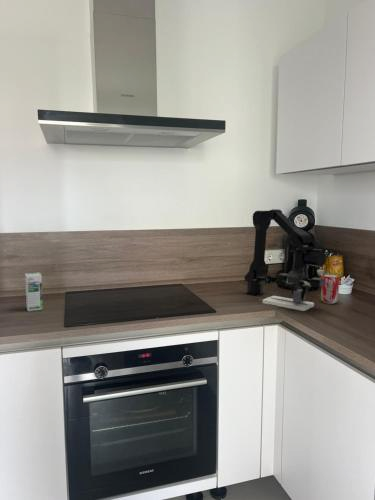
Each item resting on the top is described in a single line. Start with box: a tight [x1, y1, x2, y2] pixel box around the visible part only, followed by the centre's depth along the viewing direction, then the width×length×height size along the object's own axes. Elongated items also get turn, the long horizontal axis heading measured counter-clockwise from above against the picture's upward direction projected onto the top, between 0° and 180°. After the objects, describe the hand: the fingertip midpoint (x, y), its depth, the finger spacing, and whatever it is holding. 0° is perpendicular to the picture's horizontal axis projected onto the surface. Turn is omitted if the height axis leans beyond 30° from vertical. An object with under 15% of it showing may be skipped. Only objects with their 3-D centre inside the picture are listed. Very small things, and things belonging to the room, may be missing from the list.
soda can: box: [320, 274, 340, 305], centre depth 170 cm, size 7×7×12 cm
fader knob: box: [292, 288, 306, 304], centre depth 162 cm, size 3×5×5 cm, turn 140°
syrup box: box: [24, 272, 44, 312], centre depth 155 cm, size 6×6×14 cm
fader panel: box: [262, 295, 315, 312], centre depth 166 cm, size 19×10×2 cm, turn 50°
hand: (298, 300), depth 163 cm, fingers closed on fader knob, 3 cm apart
